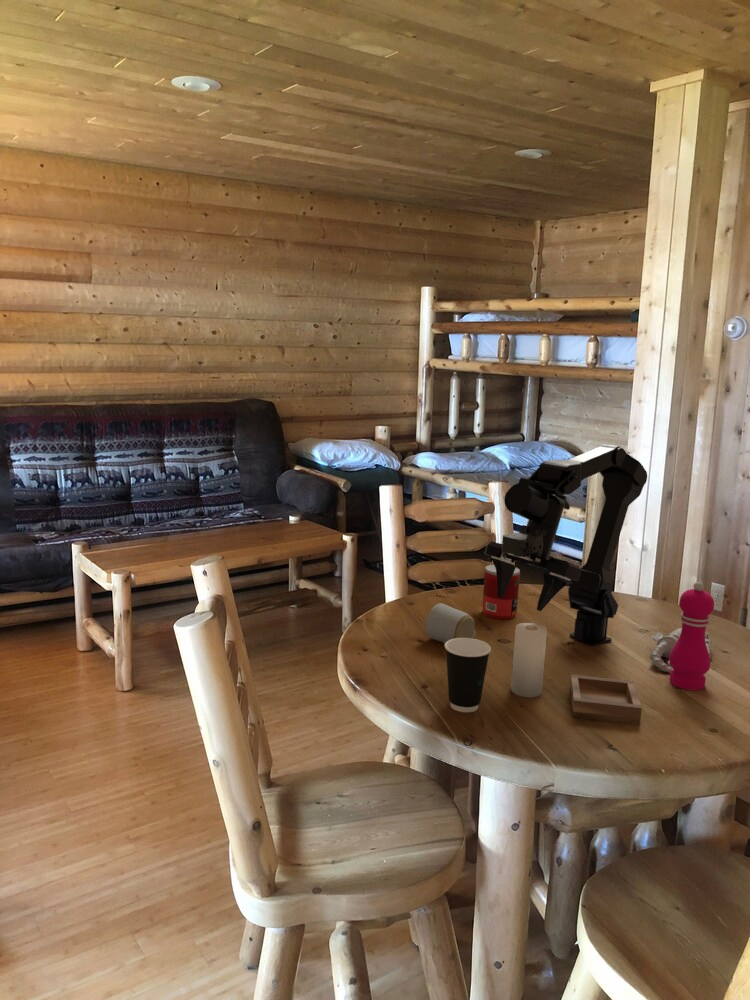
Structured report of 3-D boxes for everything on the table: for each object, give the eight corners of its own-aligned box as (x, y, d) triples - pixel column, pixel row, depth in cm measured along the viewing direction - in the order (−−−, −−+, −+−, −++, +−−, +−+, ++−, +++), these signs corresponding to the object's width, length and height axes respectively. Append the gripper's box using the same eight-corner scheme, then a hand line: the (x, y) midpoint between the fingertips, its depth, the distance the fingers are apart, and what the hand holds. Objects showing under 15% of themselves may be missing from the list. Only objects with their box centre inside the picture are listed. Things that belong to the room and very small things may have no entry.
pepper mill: (660, 675, 154) (671, 576, 150) (696, 675, 154) (708, 576, 151) (677, 691, 147) (689, 587, 143) (714, 691, 147) (728, 588, 143)
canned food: (519, 620, 182) (522, 574, 179) (484, 619, 182) (487, 572, 180) (513, 609, 189) (517, 564, 187) (480, 608, 189) (483, 563, 187)
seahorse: (701, 677, 151) (722, 633, 167) (644, 646, 156) (670, 605, 172) (689, 697, 154) (711, 652, 170) (634, 665, 158) (660, 624, 174)
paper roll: (527, 682, 149) (532, 620, 146) (548, 693, 144) (553, 630, 142) (504, 687, 146) (509, 625, 143) (524, 699, 141) (529, 635, 139)
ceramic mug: (455, 653, 161) (458, 616, 160) (423, 642, 167) (425, 606, 165) (484, 640, 169) (487, 605, 168) (452, 630, 175) (455, 596, 173)
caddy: (569, 689, 146) (570, 674, 145) (631, 696, 144) (633, 681, 143) (572, 716, 135) (573, 700, 135) (639, 724, 133) (641, 708, 133)
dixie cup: (435, 697, 141) (438, 638, 138) (477, 694, 143) (480, 636, 141) (450, 718, 133) (454, 656, 131) (494, 714, 135) (498, 653, 133)
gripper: (480, 506, 153) (456, 584, 153) (562, 525, 140) (536, 610, 139) (512, 520, 161) (490, 594, 160) (592, 539, 148) (568, 620, 147)
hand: (518, 604), depth 151 cm, fingers open, 9 cm apart
